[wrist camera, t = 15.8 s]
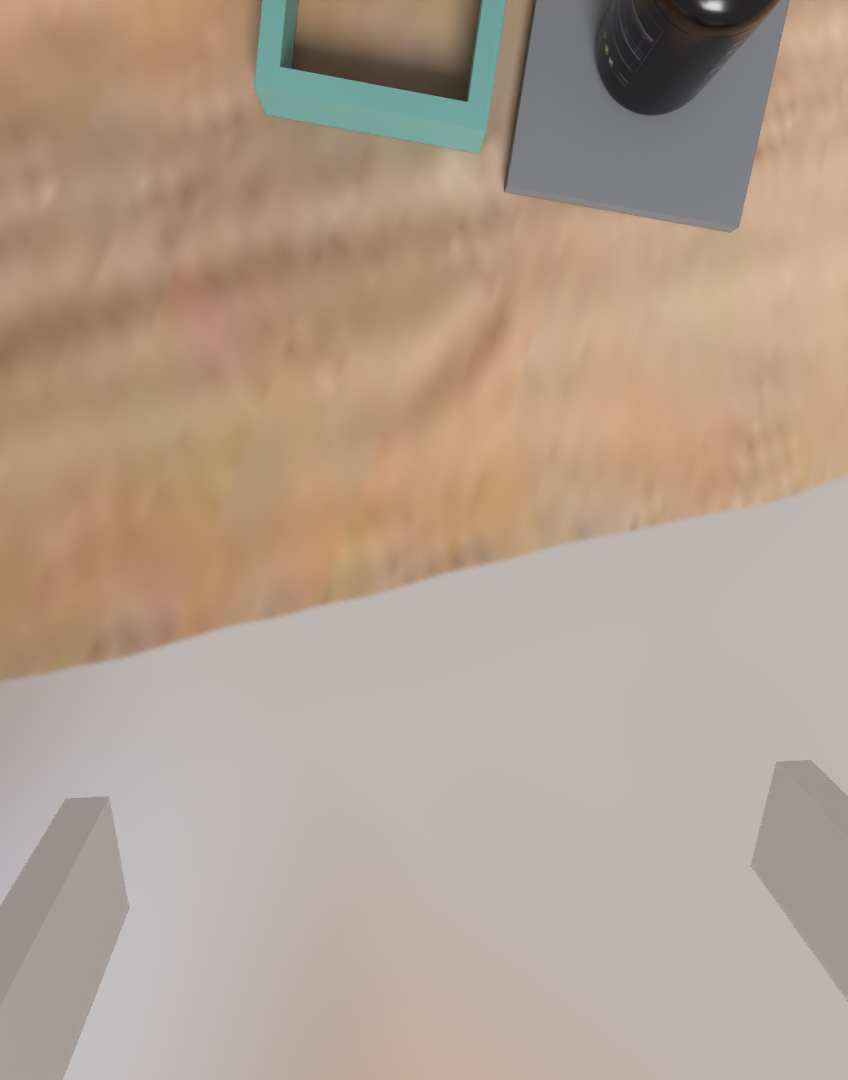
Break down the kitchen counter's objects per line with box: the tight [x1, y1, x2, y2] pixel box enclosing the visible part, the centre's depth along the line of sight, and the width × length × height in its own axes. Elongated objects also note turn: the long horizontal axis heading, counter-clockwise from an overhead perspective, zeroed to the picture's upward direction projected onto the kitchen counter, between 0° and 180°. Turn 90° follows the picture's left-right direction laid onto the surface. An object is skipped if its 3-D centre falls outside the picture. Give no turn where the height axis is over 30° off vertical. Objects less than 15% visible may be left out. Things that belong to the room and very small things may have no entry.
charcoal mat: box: [504, 0, 790, 232], centre depth 36 cm, size 14×16×1 cm
